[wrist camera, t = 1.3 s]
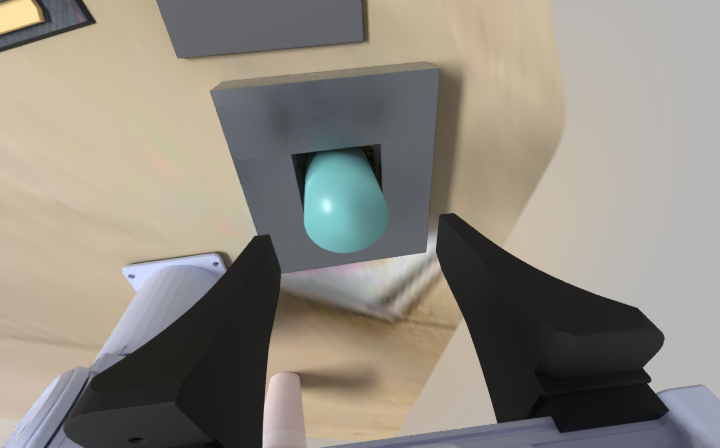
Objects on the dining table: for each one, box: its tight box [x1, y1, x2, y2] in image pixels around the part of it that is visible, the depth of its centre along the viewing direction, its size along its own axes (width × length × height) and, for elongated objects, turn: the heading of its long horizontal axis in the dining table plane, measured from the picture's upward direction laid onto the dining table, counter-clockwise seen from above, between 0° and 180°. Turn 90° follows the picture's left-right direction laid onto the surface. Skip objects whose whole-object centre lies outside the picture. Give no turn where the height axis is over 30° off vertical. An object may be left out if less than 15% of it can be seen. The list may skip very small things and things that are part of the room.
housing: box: [210, 62, 440, 274], centre depth 22 cm, size 14×13×3 cm
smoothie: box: [263, 372, 307, 448], centre depth 33 cm, size 6×6×14 cm
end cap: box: [304, 146, 389, 253], centre depth 20 cm, size 5×5×7 cm
